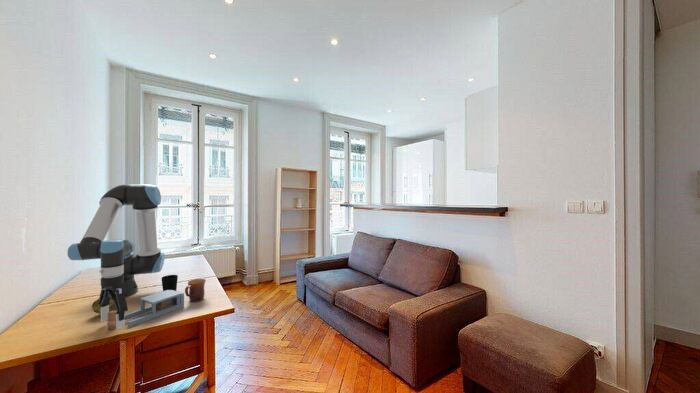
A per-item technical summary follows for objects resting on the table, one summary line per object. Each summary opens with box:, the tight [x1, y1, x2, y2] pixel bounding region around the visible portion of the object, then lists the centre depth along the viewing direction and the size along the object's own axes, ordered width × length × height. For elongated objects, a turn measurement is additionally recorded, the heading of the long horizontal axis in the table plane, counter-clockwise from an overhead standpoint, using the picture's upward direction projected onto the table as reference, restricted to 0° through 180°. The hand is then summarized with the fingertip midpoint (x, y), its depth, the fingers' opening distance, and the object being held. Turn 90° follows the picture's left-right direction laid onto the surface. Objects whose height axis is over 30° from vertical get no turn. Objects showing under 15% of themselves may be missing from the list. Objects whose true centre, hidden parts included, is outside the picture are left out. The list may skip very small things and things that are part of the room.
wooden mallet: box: [107, 299, 173, 331], centre depth 126 cm, size 5×25×7 cm, turn 153°
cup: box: [161, 274, 179, 291], centre depth 150 cm, size 8×8×12 cm
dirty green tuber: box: [91, 298, 117, 316], centre depth 129 cm, size 8×13×8 cm, turn 69°
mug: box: [184, 278, 206, 302], centre depth 146 cm, size 12×9×10 cm
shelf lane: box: [125, 290, 185, 328], centre depth 131 cm, size 11×24×8 cm, turn 153°
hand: (112, 324), depth 116 cm, fingers open, 13 cm apart
